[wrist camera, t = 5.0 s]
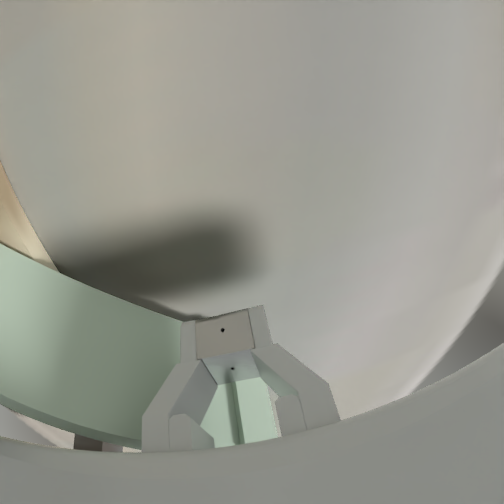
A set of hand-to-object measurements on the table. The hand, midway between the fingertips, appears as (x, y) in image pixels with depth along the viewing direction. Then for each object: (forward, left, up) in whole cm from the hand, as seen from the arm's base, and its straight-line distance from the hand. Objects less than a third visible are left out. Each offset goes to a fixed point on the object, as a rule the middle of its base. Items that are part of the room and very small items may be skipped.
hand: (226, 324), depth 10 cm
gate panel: (-3, -7, -2) cm, 8 cm away
